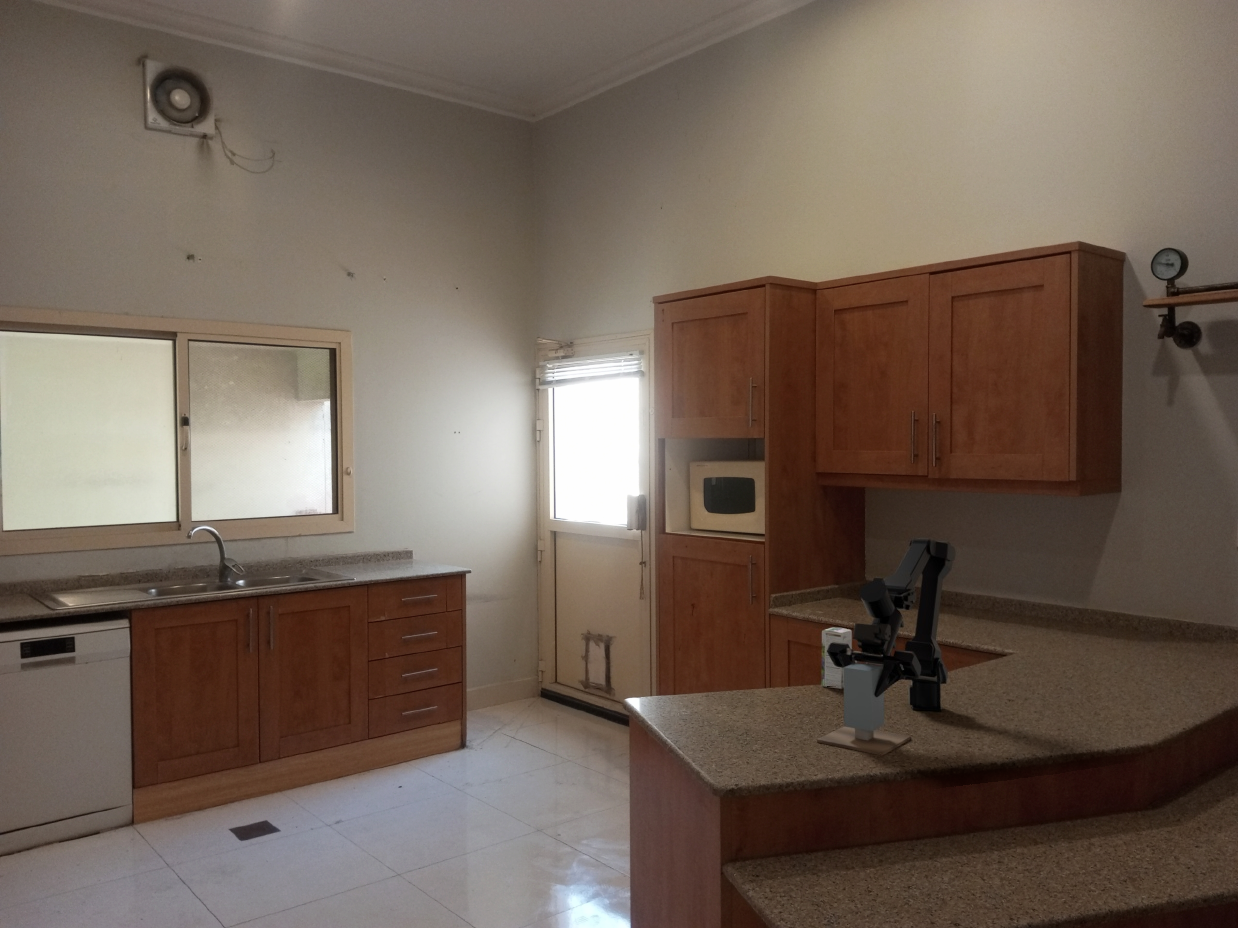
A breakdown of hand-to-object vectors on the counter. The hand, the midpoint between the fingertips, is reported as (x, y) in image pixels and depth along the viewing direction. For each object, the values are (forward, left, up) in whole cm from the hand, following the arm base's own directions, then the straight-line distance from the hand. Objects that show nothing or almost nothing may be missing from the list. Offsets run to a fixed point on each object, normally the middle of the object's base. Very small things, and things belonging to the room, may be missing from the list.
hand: (861, 693), depth 188 cm
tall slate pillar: (-1, -1, -7) cm, 7 cm away
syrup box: (+4, -49, -10) cm, 50 cm away
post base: (-1, -1, -10) cm, 10 cm away
